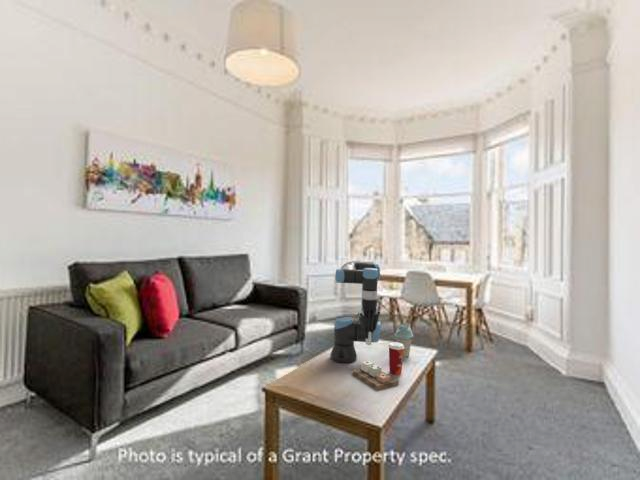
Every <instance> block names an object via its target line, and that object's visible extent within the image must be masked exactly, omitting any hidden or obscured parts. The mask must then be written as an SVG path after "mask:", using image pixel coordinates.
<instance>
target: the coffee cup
mask: <svg viewBox="0 0 640 480" xmlns="http://www.w3.org/2000/svg"><path fill="white" fill-rule="evenodd" d="M403 350H404V345H403V344H402V343H398V342H395V341H394V342H393V341H391V342H389V344H388V358H389V359H388V360H389V362H388V363H389V364H388V365H389V366H388V367H389V374H391V375H395V376H399V375H401V374H402V370H403V362H404V357H403Z"/></svg>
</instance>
